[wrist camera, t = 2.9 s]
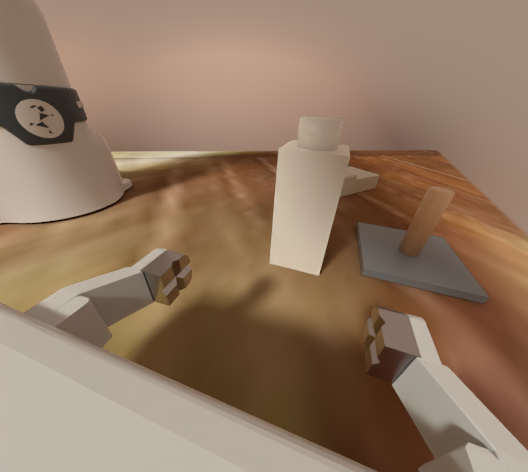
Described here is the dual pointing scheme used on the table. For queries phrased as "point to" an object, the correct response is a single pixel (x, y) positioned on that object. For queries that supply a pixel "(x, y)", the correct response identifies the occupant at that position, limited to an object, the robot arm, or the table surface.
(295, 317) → the table surface
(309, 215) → the tapered lotion bottle
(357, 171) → the electrical outlet
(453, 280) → the peg stand
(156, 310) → the table surface
